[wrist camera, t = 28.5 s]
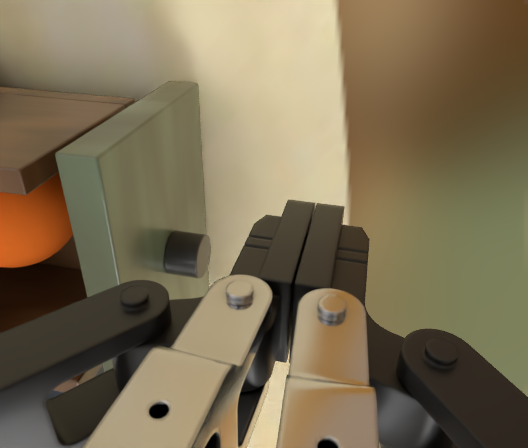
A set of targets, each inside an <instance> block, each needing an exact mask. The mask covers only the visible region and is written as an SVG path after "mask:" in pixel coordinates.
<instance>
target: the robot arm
mask: <svg viewBox="0 0 528 448" xmlns="http://www.w3.org/2000/svg"><path fill="white" fill-rule="evenodd" d="M343 215H344V206H336V205H328V204H320V203H317V205H316V209H315V203H311V202H304V201H296V200H288V201H287V203H286V206H285V209H284V211H283V214H282V216H281V217H279V216H271V215H266V216H264V217H263V218H262V219H260V220H259V221H257V222H256V223H255V224H254V225H253V228H252V230H251V232H250V234H249V237H248V238H247V240H246V242H245V245H244V246H243V248H242V250H241V253H240V255H239V257H238V259H237V261H236V263H235V265H234V267H233V269H232V271H231V273H230V275H229V276H227V277H224V278H221V279H219V280H218V281H216V282H215V283H214V284H212V285H211V287H210V288H209V289H208V291H207V293H206V294H205V296H203V297H198V298H190V299H174V300H169V293H168V291H167V290H166V288H165V287H164V286H162V285H161V284H159V283H157V282H154V281H150V280H134V281H129V282H125V283H122V284H119V285H117V286H115V287H112V288H110V289H107V290H105V291H102V292H100V293H97V294H95V295H92V296H90V297H87V298H85V299H83V300H80V301H78V302H75V303H73V304H70V305H68V306H65V307H63V308H60V309H58V310H56V311H53V312H51V313H48V314H46V315H43V316H41V317H38V318H36V319H33V320H31V321H28V322H26V323H24V324H21V325H19V326H16V327H14V328H11V329H9V330H6V331H4V332H1V333H0V448H247V446H248V443H249V440H250V438H251V435H252V432H253V429H254V427H255V424H256V421H257V419H258V416H259V413H260V411H261V408H262V405H263V403H264V400H265V397H266V394H267V392H268V388H269V378H270V377H271V374H272V371H273V367H274V364H275V361H280V362H287V358H288V354H289V350H290V358H289V363H290V367H289V374H288V375H287V377H286V383H285V390H284V397H283V404H282V411H281V418H280V425H279V432H278V440H277V447H276V448H379V442H380V448H528V397H527V396H526V395H525V394H524V393H522V392H521V391H520V390H519V389H518V388H517V387H516V386H515V385H513V384H512V383H511V382H510V381H509V380H508V379H507V378H506V377H504V376H503V375H502V374H501V373H500V372H499V371H498V370H497V369H496V368H494V367H493V366H492V365H491V364H490V363H489V362H488V361H486V360H485V359H484V358H483V357H482V356H481V355H480V354H479V353H478V352H476V351H475V350H474V349H473V348H472V347H471V346H470V345H469V344H467V343H466V342H465V341H464V340H462V339H461V338H458V337H457V336H455V335H453V334H451V333H448V332H445V331H441V330H437V329H420V330H416V331H414V332H412V333H410V334H408V335H407V336H406V337H405V338H403V337H401V336H399V335H396V334H394V333H391V332H389V331H387V330H385V329H384V328H382V327H380V326H379V325H378V324H377V323H375V322H374V321H373V320H372V318H371V317H370V316H369V314H368V313H367V311H366V308H365V292H366V278H367V263H368V251H369V238H368V237H367V235H366V233H365V232H364V230H363V228H361V227H354V226H347V225H342V223H343ZM110 359H112V362H113V367H114V368H112V369H110V370H108V371H106V372H104V373H102V374H100V375H98V376H96V377H94V378H92V379H90V380H88V381H86V382H84V383H82V384H80V385H78V386H76V387H74V388H72V389H70V390H68V391H66V392H64V393H62V394H60V395H58V396H56V397H54V398H51V399H47V398H48V396H49V394H50V393H51V392H52V390H53V389H55V388H56V387H57V386H58V385H60V384H62V383H64V382H66V381H68V380H70V379H72V378H74V377H76V376H78V375H80V374H82V373H84V372H86V371H88V370H90V369H92V368H94V367H96V366H98V365H100V364H102V363H104V362H106V361H108V360H110Z"/></svg>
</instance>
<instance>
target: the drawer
mask: <svg viewBox="0 0 528 448" xmlns="http://www.w3.org/2000/svg"><path fill="white" fill-rule="evenodd" d="M57 173H59V175H60V179H61V184H62V188H63V193H64V197H65V201H66V206H67V210H68V215H69V219H70V223H71V228H72V232H73V235H72V237H71V238H70V239H69V241H68V242H67V243H66V244H65V245H64V246H63V247H62V248H61V249H60V250H59V251H58V252H57V253H55V254H54V255H52V256H51V257H49V258H47V259H45V260H43V261H41V262H39V263H36V264H32V265H29V266H23V267H15V268H8V267H0V333H1V332H4V331H6V330H9V329H11V328H14V327H16V326H19V325H21V324H24V323H26V322H28V321H31V320H33V319H36V318H38V317H41V316H43V315H46V314H48V313H51V312H53V311H56V310H58V309H60V308H63V307H65V306H68V305H70V304H73V303H75V302H78V301H80V300H83V299H85V298H87V297H90V296H92V295H95V294H97V293H100V292H102V291H105V290H107V289H110V288H112V287H115V286H117V285H119V284H122V283H125V282H129V281H134V280H150V281H154V282H157V283H159V284H161V285H162V286H164V287H165V288H166V290H167V291H168V293H169V300H174V299H190V298H198V297H203V296H205V294H206V293H207V291H208V289H209V275H208V264H209V259H210V251H211V245H210V239H209V236H208V235H206V220H205V201H204V183H203V165H202V146H201V128H200V110H199V91H198V84H197V83H188V82H176V81H169V82H167V83H165V84H164V85H162V86H161V87H159V88H158V89H156V90H154V91H153V92H151V93H150V94H148V95H146V96H145V97H143V98H142V99H140V100H139V101H137V102H135V99H133V98H122V97H110V96H99V95H88V94H76V93H65V92H53V91H42V90H31V89H19V88H8V87H0V192H4V193H11V194H19V195H27V194H29V193H30V192H32V191H33V190H35V189H36V188H37V187H39V186H40V185H42V184H43V183H45V182H46V181H47V180H49V179H50V178H52V177H53V176H55V175H56V174H57ZM102 365H103V369H104V372H106V371H108V370H110V369H112V368H114V367H113V362H112V359H110V360H108V361H106V362H104V363H102V364H100V365H98V366H96V367H94V368H92V369H90V370H88V371H86V372H84V373H82V374H80V375H78V376H76V377H74V378H72V379H70V380H68V381H66V382H64V383H62V384H60V385H58V386H57V387H56V388H55V389H53V390H55V391H60V392H66V391H68V390H70V389H72V388H74V387H76V386H78V385H80V384H82V383H84V382H86V381H88V380H90V379H92V378H94V376H95V375H96V373H97V372H98V370H99V369H100V368H101V366H102Z"/></svg>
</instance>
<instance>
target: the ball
mask: <svg viewBox="0 0 528 448" xmlns="http://www.w3.org/2000/svg"><path fill="white" fill-rule="evenodd" d="M72 235H73V232H72V228H71V223H70V219H69V215H68V210H67V206H66V201H65V197H64V193H63V188H62V184H61V179H60V175H59V173H57V174H56V175H55V176H53V177H52V178H50V179H49V180H47V181H46V182H45V183H43V184H42V185H40V186H39V187H37V188H36V189H35V190H33V191H32V192H30V193H29V194H27V195H19V194H11V193H4V192H0V267H8V268H15V267H23V266H29V265H32V264H36V263H39V262H41V261H43V260H45V259H47V258H49V257H51V256H52V255H54V254H55V253H57V252H58V251H59V250H60V249H61V248H62V247H63V246H64V245H65V244H66V243H67V242H68V241H69V239H70V238H71V237H72Z"/></svg>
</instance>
